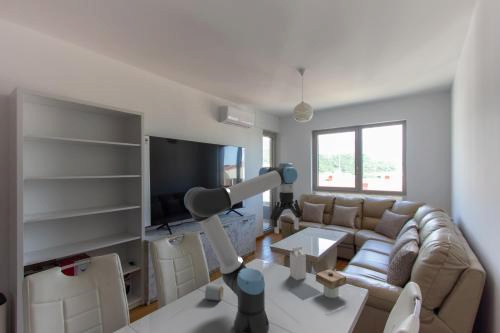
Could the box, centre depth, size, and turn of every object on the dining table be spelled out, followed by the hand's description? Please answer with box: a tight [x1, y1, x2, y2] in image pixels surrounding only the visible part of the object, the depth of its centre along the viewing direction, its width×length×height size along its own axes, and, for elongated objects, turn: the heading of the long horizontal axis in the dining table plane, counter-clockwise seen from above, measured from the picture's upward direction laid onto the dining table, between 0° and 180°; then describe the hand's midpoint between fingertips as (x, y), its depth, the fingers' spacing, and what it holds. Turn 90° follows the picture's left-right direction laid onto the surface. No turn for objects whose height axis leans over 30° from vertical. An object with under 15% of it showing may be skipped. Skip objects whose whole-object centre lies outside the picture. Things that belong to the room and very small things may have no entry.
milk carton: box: [289, 246, 307, 281], centre depth 151 cm, size 7×7×19 cm
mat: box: [286, 282, 322, 301], centre depth 133 cm, size 14×13×1 cm
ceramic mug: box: [204, 282, 224, 301], centre depth 129 cm, size 11×8×8 cm
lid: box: [315, 268, 347, 289], centre depth 130 cm, size 11×11×5 cm
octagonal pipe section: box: [323, 285, 340, 299], centre depth 130 cm, size 7×7×7 cm
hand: (286, 231), depth 130 cm, fingers open, 13 cm apart
